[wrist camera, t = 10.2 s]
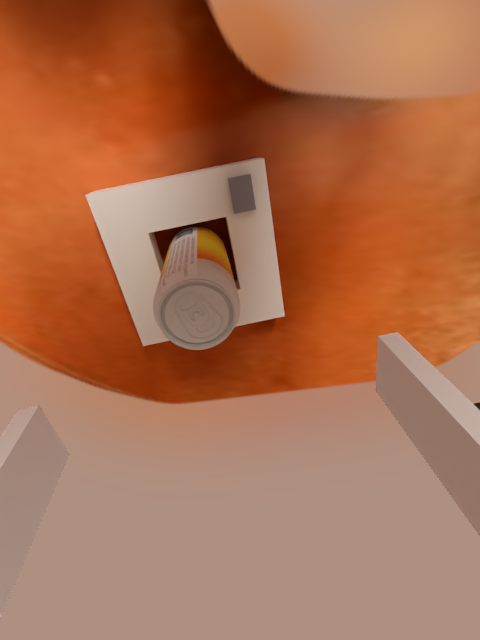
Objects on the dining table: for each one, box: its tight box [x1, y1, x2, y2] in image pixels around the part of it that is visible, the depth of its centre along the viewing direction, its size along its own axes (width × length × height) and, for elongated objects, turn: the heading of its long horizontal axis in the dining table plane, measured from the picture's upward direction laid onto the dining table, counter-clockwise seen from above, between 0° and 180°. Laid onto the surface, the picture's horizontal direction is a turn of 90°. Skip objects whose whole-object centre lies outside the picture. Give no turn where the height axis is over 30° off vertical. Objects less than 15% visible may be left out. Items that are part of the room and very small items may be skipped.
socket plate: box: [86, 157, 285, 346], centre depth 34 cm, size 16×16×4 cm
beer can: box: [153, 227, 240, 350], centre depth 29 cm, size 6×6×15 cm
